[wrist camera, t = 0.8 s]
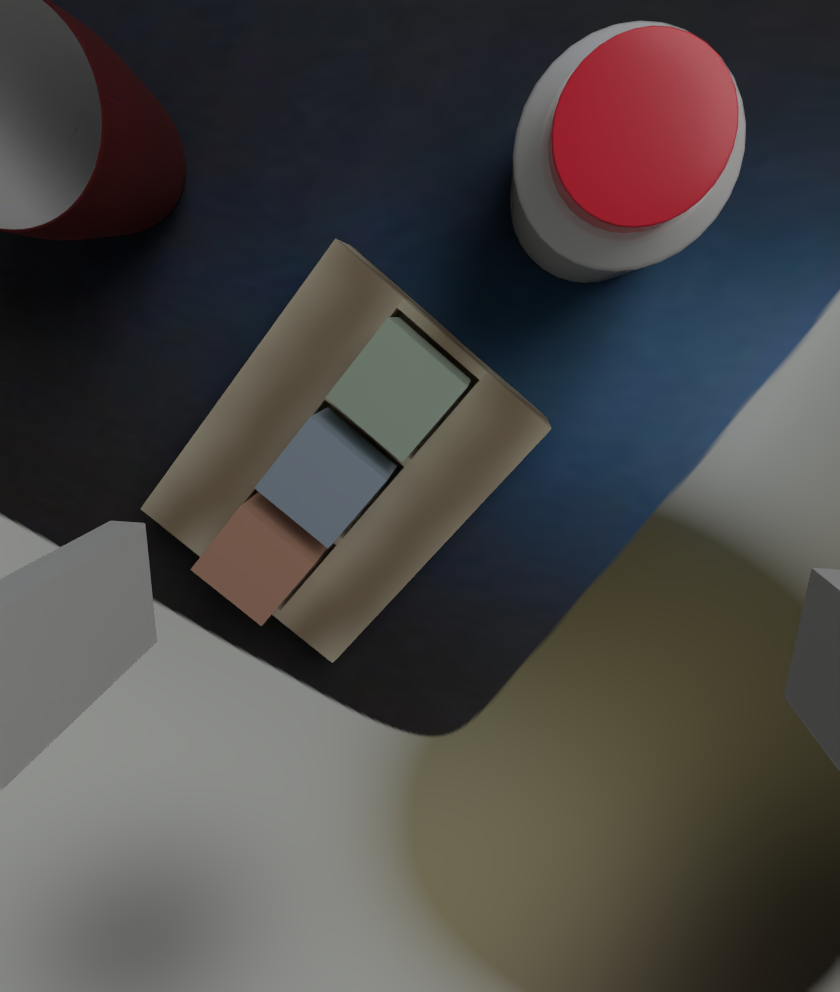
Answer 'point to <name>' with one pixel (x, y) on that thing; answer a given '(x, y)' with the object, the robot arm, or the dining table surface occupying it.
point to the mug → (78, 133)
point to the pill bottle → (625, 151)
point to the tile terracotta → (258, 558)
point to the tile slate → (325, 476)
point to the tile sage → (398, 388)
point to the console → (301, 393)
